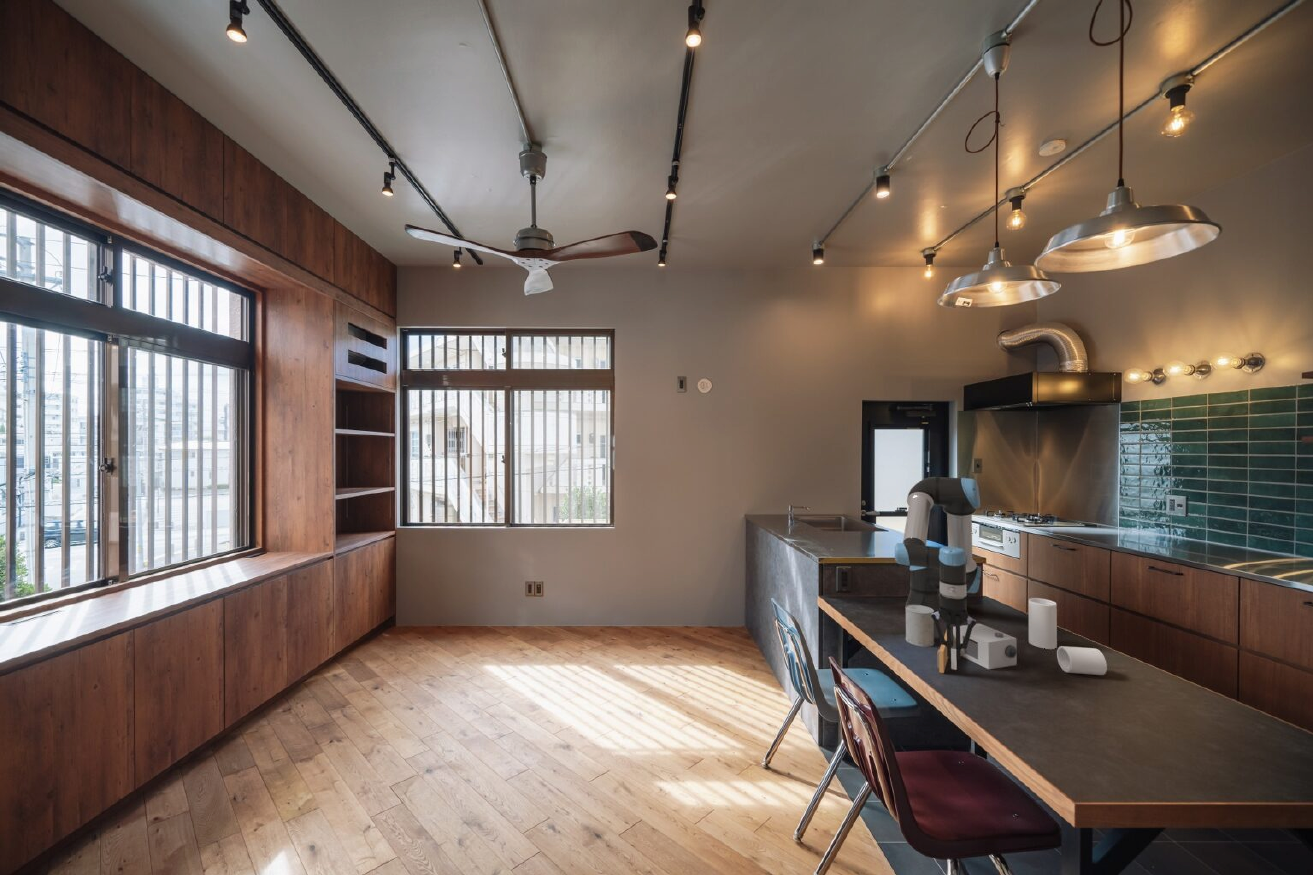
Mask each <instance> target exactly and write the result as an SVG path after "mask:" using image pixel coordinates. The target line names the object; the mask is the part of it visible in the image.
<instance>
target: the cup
mask: <svg viewBox="0 0 1313 875" xmlns="http://www.w3.org/2000/svg"><path fill="white" fill-rule="evenodd" d="M1057 605H1058V604H1057V603H1056V602H1055V601H1054V600H1050V599H1047V598H1040V597H1030V598H1028V643H1029V644H1030V645H1031V646H1035V647H1037V648H1040V649H1044V648H1045V649H1047V650H1055V648H1056V649H1058V640H1057V639H1058V638H1057V637H1058V633H1057V632H1058V627H1057V626H1058V624H1057V622H1058V620H1057V618H1058V615H1057V614H1058V613H1057V612H1058V611H1057V610H1058V609H1057V608H1058V607H1057Z"/></svg>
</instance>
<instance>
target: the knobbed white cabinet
mask: <svg viewBox="0 0 1313 875" xmlns="http://www.w3.org/2000/svg"><path fill="white" fill-rule="evenodd" d="M967 626H968V624H965V625H964V624H962V625H960V644H961V643H963V640H964V637H965V633H966V630H967ZM952 646H955V647H956V626H953V627H952ZM960 653H961V657H963V658H965V659H967V660H968V661H971V662H973V663H975V664H977V665H978V666H981V667H983V668H985V669H987V670H993V669H1000V668H1005V667H1012V666H1017V637H1014V636H1012V635H1009V634H1007V633H1004V632H1002V631H1000V630H997V629H994V628H993V627H989V626H987V625H984V624H982V623H979V622H978V623H976V625H975V626H974V627H973V628H972V631H971V635H970V638H969V642H968V645H967V648H966V649H961V650H960Z"/></svg>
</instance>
